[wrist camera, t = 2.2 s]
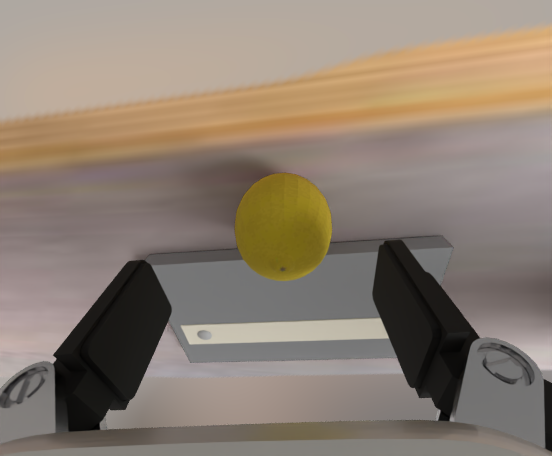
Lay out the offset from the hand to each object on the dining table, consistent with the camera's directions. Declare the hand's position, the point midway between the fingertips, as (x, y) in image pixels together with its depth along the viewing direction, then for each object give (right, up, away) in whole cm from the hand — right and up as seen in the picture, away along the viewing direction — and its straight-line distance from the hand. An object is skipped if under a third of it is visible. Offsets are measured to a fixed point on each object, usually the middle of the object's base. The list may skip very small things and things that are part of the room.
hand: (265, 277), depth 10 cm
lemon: (+1, +4, +8) cm, 9 cm away
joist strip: (+2, -8, +13) cm, 15 cm away
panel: (+2, -5, +13) cm, 15 cm away
